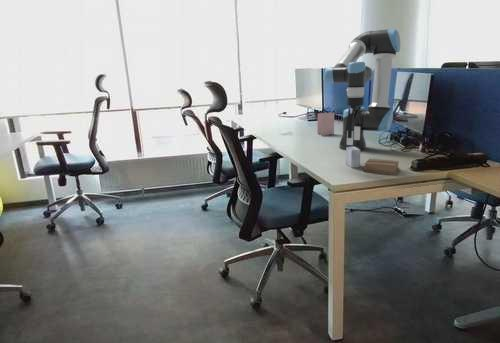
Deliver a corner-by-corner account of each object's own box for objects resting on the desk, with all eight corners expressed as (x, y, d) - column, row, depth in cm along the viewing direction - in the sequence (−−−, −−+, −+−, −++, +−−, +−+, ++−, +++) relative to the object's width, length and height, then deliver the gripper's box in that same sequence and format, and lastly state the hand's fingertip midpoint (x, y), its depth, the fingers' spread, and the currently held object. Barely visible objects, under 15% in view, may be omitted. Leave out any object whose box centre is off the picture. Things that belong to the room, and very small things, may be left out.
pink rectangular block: (333, 134, 264) (334, 112, 260) (335, 135, 257) (335, 114, 253) (317, 134, 265) (317, 113, 261) (318, 136, 258) (318, 114, 254)
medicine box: (360, 167, 177) (361, 149, 175) (351, 168, 177) (351, 150, 174) (354, 163, 184) (355, 146, 182) (345, 164, 184) (346, 146, 182)
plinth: (368, 166, 178) (368, 158, 177) (399, 169, 171) (399, 160, 170) (363, 171, 170) (363, 163, 169) (396, 174, 163) (396, 166, 162)
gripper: (353, 94, 184) (351, 137, 189) (339, 98, 163) (338, 146, 168) (369, 94, 180) (367, 138, 186) (357, 98, 159) (355, 147, 165)
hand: (353, 142), depth 177 cm, fingers open, 13 cm apart
